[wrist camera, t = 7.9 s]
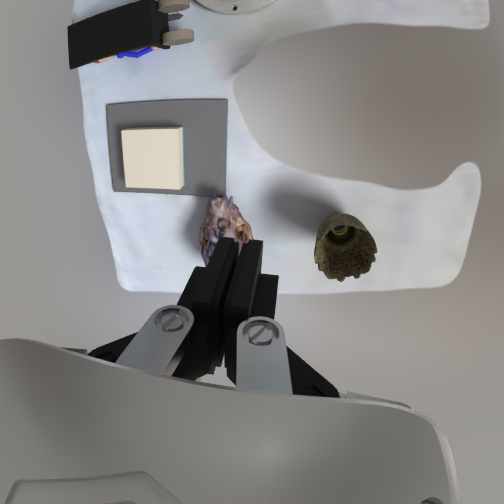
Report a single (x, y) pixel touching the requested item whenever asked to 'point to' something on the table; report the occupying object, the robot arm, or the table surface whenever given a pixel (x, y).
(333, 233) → the cup
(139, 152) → the tile
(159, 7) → the figurine character
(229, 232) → the skull
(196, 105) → the mat
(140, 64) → the table surface
